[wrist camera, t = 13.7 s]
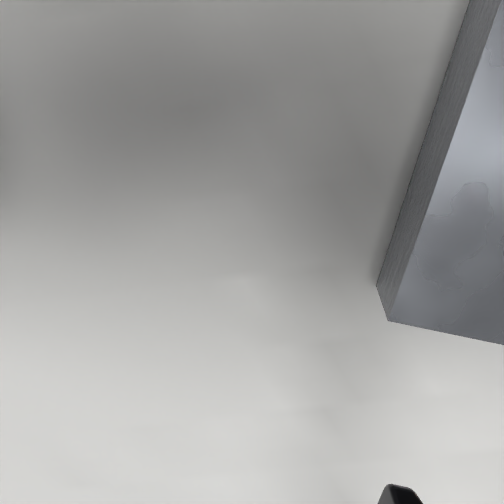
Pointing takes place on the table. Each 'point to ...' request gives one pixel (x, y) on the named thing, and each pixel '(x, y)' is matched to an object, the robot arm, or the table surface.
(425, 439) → the table surface
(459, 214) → the plate
